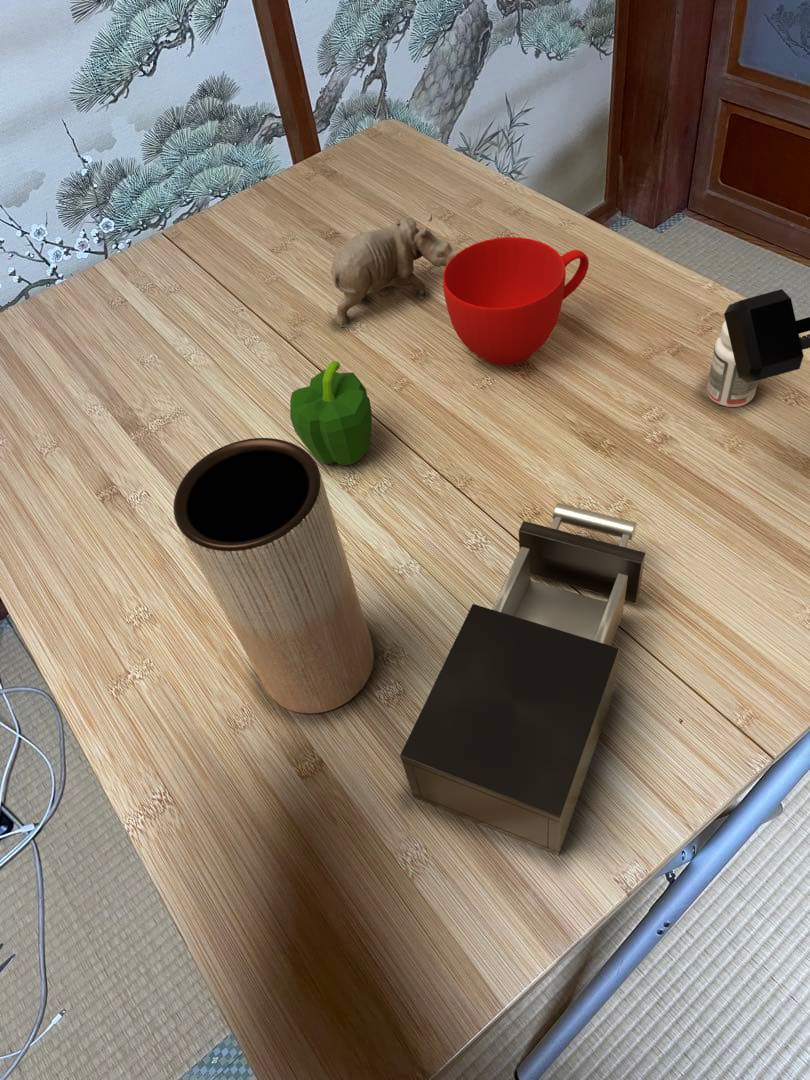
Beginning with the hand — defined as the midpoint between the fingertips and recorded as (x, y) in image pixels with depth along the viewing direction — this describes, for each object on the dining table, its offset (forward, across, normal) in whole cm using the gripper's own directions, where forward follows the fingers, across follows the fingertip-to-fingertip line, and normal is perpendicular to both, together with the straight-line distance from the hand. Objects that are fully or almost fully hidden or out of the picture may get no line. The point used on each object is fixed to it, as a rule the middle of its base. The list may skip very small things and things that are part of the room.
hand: (791, 330), depth 73 cm
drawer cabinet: (-8, -34, -26) cm, 43 cm away
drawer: (-2, -26, -18) cm, 32 cm away
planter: (+1, -48, -17) cm, 51 cm away
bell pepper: (+19, -40, +1) cm, 44 cm away
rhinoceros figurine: (+36, -28, +17) cm, 49 cm away
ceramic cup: (+26, -17, +7) cm, 31 cm away
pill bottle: (+14, 0, -4) cm, 14 cm away
